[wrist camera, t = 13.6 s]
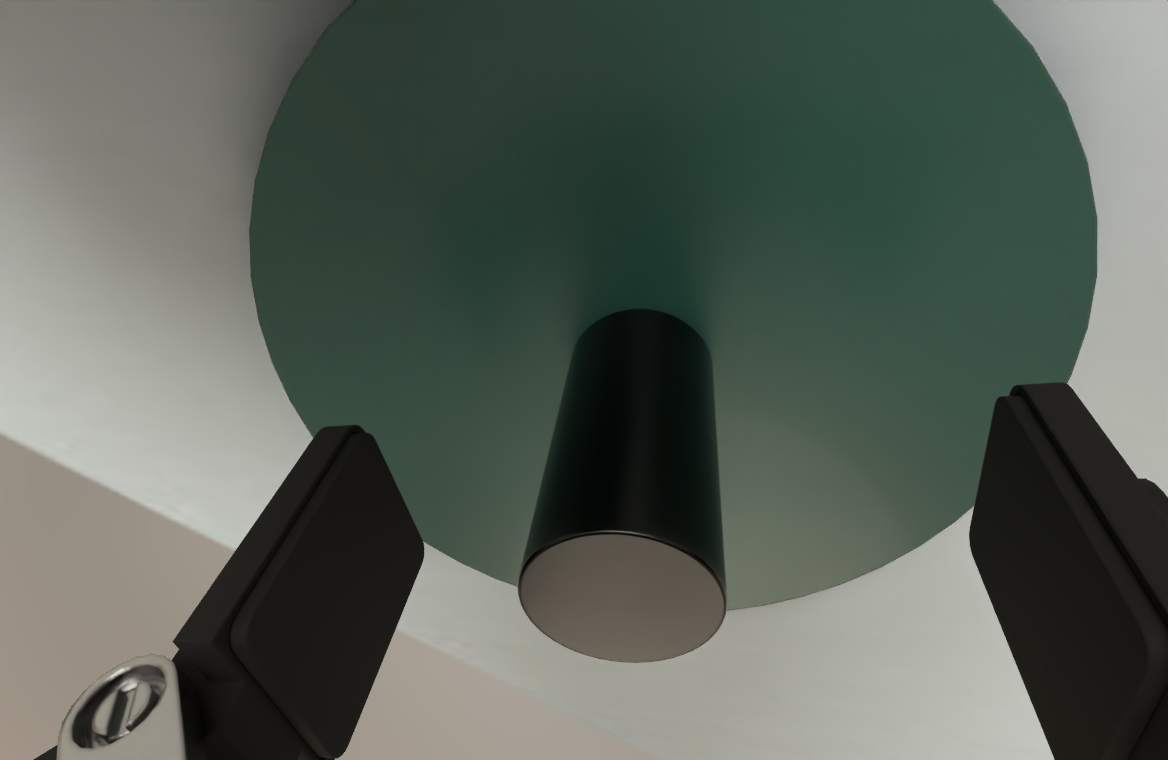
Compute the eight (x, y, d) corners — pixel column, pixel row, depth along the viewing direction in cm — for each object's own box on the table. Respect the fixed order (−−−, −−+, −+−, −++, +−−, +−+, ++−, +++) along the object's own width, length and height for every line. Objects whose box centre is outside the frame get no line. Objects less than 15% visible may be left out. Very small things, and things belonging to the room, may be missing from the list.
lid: (513, -442, 8) (188, -1073, 3) (1263, 273, 12) (1728, 580, 7) (194, 382, 17) (-39, 617, 11) (695, 647, 21) (700, 914, 15)
